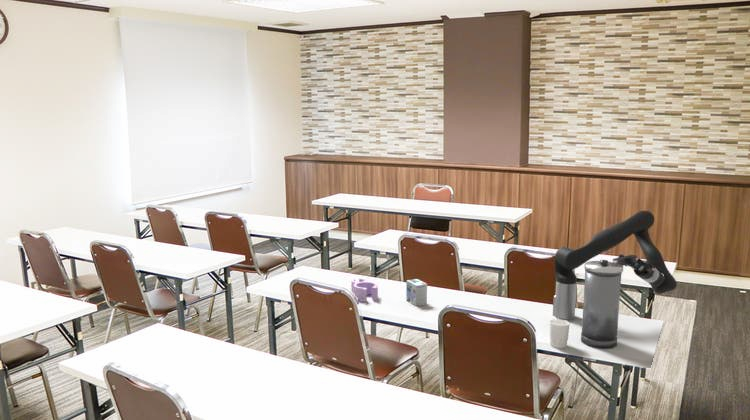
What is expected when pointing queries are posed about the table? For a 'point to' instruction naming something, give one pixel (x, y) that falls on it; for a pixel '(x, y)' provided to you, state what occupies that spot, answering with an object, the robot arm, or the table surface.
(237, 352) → the table surface
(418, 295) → the light bulb box
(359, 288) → the clip
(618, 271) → the lid
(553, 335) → the white cup
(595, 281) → the canister
